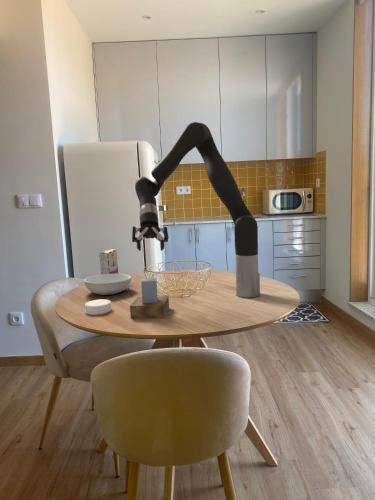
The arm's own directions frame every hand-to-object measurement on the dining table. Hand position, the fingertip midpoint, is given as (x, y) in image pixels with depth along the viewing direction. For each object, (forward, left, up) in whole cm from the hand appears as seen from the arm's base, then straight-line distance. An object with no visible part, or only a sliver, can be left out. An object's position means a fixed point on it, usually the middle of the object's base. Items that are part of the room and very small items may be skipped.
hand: (150, 249), depth 150 cm
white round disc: (+21, +3, -23) cm, 31 cm away
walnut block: (+1, +10, -23) cm, 25 cm away
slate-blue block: (+1, +10, -18) cm, 20 cm away
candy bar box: (+23, -45, -22) cm, 55 cm away
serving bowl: (+21, -25, -22) cm, 40 cm away
